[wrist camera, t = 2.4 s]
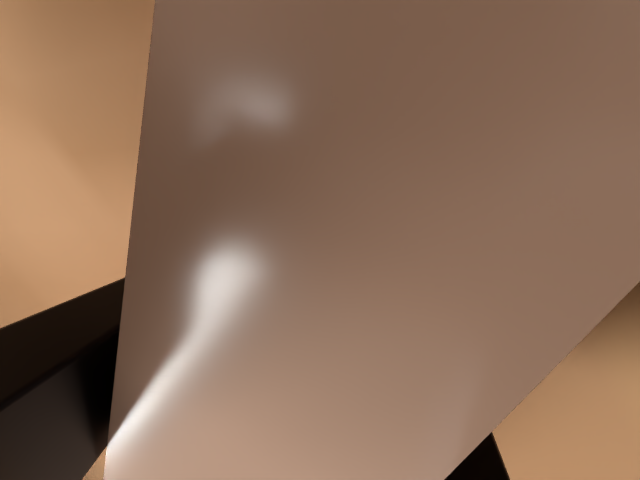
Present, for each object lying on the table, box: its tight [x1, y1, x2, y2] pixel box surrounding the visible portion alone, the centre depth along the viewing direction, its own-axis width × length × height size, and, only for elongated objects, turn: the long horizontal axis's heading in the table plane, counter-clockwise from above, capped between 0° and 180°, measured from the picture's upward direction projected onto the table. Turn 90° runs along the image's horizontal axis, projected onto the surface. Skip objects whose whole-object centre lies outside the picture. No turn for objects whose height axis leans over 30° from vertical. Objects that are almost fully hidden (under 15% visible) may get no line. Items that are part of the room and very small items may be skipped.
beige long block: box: [103, 0, 640, 480], centre depth 8 cm, size 4×16×4 cm, turn 162°
